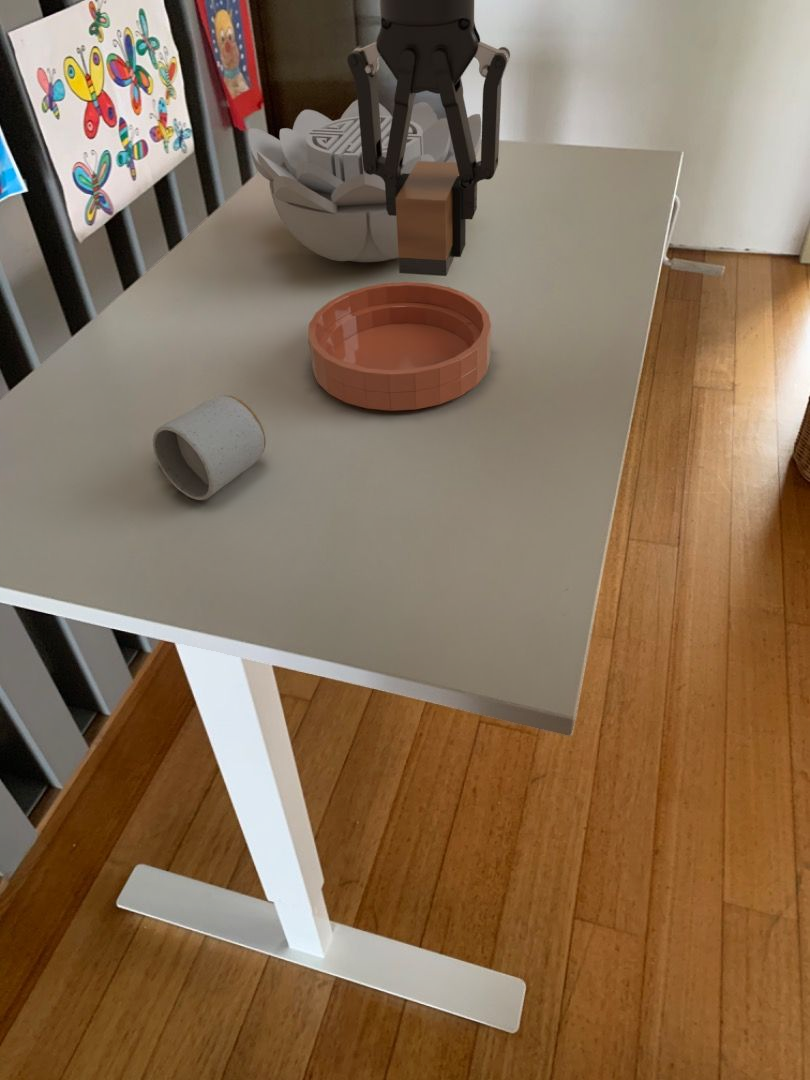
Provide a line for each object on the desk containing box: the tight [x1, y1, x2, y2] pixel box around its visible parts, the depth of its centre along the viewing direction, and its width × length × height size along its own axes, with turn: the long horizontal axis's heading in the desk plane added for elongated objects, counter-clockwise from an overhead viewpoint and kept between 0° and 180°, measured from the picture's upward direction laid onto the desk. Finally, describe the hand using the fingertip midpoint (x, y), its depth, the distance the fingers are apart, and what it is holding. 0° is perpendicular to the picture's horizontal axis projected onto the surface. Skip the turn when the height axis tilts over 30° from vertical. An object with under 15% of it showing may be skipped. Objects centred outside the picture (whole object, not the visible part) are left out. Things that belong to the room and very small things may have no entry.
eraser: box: [396, 161, 459, 277], centre depth 79 cm, size 9×4×7 cm, turn 167°
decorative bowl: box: [248, 98, 482, 263], centre depth 112 cm, size 30×30×15 cm
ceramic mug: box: [152, 395, 267, 501], centre depth 79 cm, size 11×8×8 cm
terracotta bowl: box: [307, 281, 492, 412], centre depth 92 cm, size 20×20×5 cm
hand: (432, 248), depth 81 cm, fingers closed on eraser, 4 cm apart
